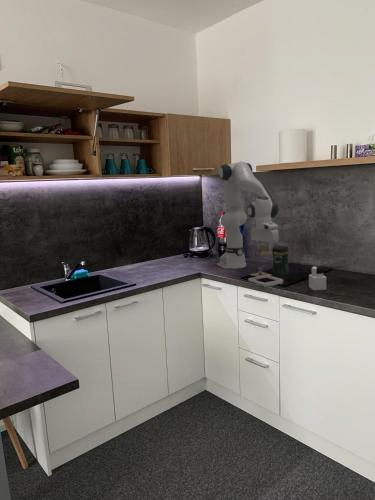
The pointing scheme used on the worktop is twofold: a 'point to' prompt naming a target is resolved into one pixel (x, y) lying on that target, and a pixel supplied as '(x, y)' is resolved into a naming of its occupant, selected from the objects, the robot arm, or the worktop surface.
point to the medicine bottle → (317, 278)
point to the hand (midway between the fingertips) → (264, 249)
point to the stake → (259, 273)
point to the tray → (268, 284)
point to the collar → (264, 251)
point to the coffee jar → (280, 260)
